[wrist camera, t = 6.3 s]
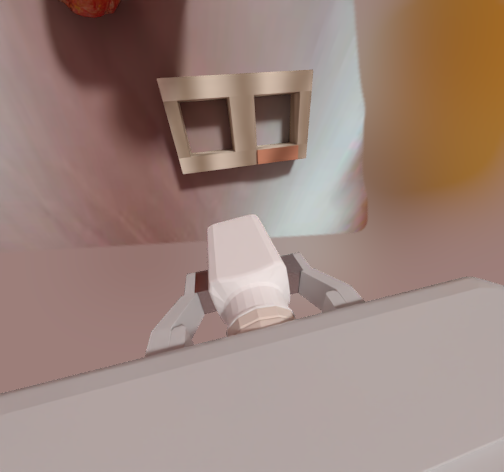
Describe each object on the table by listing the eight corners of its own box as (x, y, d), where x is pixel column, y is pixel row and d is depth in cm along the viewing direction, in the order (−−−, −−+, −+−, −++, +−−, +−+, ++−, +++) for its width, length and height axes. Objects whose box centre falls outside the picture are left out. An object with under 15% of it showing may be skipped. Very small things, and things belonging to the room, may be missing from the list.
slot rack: (184, 169, 27) (182, 174, 25) (161, 82, 22) (155, 77, 19) (297, 154, 30) (307, 158, 27) (301, 74, 25) (314, 69, 22)
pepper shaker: (204, 223, 13) (204, 368, 6) (256, 209, 14) (326, 328, 6) (219, 263, 16) (234, 406, 8) (264, 250, 16) (321, 375, 8)
